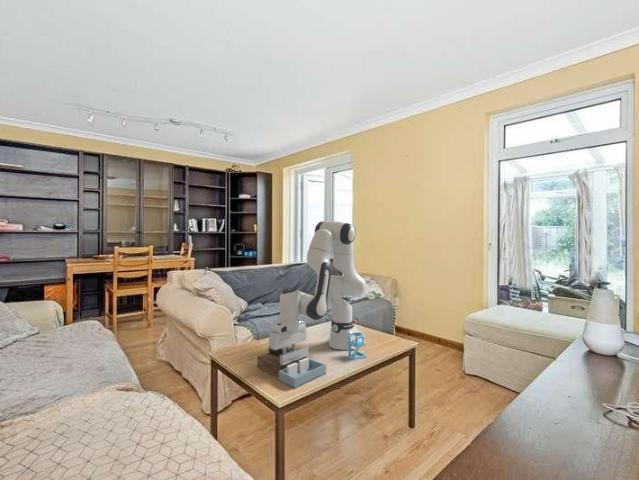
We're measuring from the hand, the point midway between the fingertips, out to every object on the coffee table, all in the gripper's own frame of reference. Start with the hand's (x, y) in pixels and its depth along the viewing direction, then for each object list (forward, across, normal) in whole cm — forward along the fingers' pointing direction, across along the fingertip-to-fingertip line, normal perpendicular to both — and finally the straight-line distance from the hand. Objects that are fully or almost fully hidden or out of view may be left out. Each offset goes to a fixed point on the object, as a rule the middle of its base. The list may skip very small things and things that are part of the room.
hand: (288, 354), depth 145 cm
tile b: (+4, +4, +6) cm, 8 cm away
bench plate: (+7, 0, -4) cm, 8 cm away
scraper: (+2, 0, -4) cm, 5 cm away
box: (+7, 0, +10) cm, 12 cm away
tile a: (+4, -4, +6) cm, 8 cm away
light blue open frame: (+8, -35, +13) cm, 38 cm away
